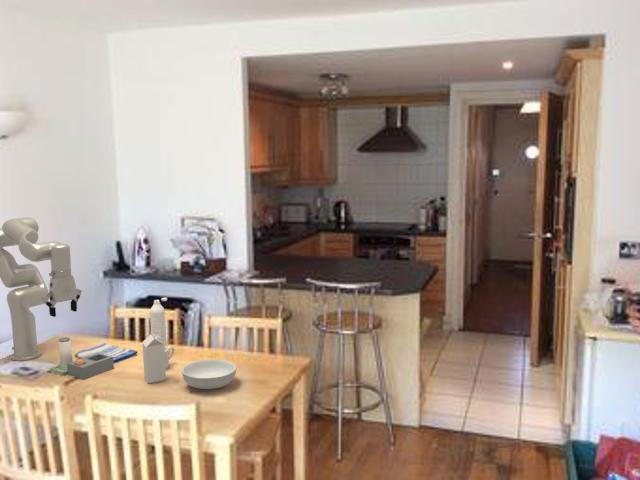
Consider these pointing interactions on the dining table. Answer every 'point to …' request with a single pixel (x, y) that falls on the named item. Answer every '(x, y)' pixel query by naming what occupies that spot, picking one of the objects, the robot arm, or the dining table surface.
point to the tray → (58, 370)
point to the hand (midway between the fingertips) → (63, 313)
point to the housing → (91, 366)
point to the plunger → (79, 362)
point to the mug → (167, 357)
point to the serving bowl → (209, 373)
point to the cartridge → (64, 352)
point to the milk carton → (154, 359)
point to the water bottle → (158, 320)
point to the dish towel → (108, 352)
